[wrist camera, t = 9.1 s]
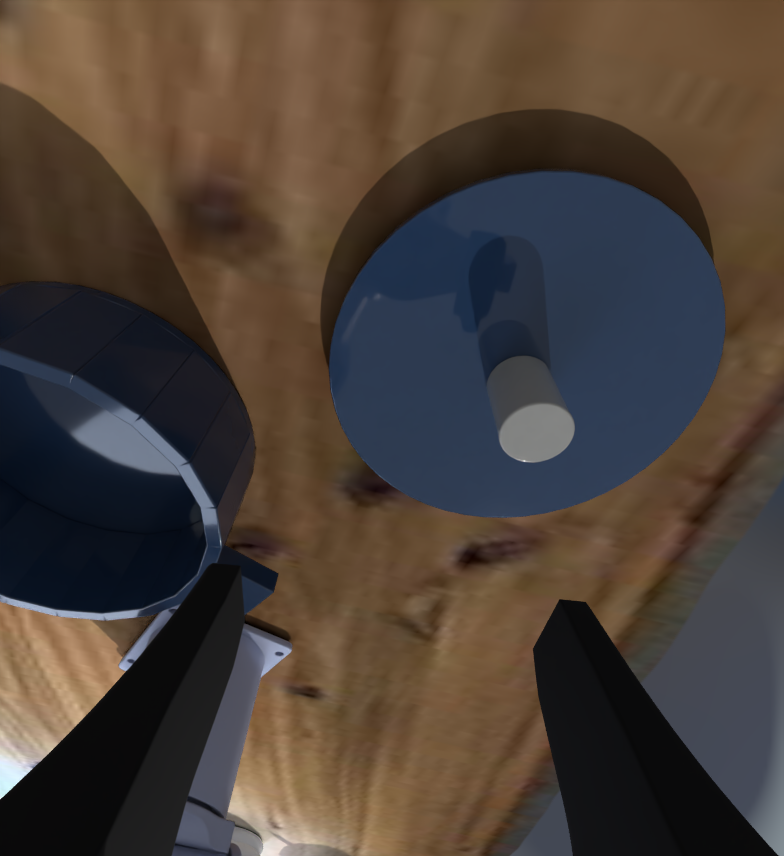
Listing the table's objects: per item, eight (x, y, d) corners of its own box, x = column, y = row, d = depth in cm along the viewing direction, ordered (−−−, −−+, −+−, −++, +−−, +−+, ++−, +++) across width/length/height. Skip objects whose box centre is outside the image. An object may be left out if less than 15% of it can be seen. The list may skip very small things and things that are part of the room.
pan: (214, 588, 28) (181, 675, 24) (-167, 400, 21) (-306, 477, 17) (363, 457, 22) (352, 543, 18) (-100, 134, 15) (-290, 154, 11)
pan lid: (496, 543, 25) (510, 619, 21) (261, 377, 20) (229, 442, 16) (781, 360, 19) (867, 425, 15) (546, 43, 13) (595, 30, 10)
